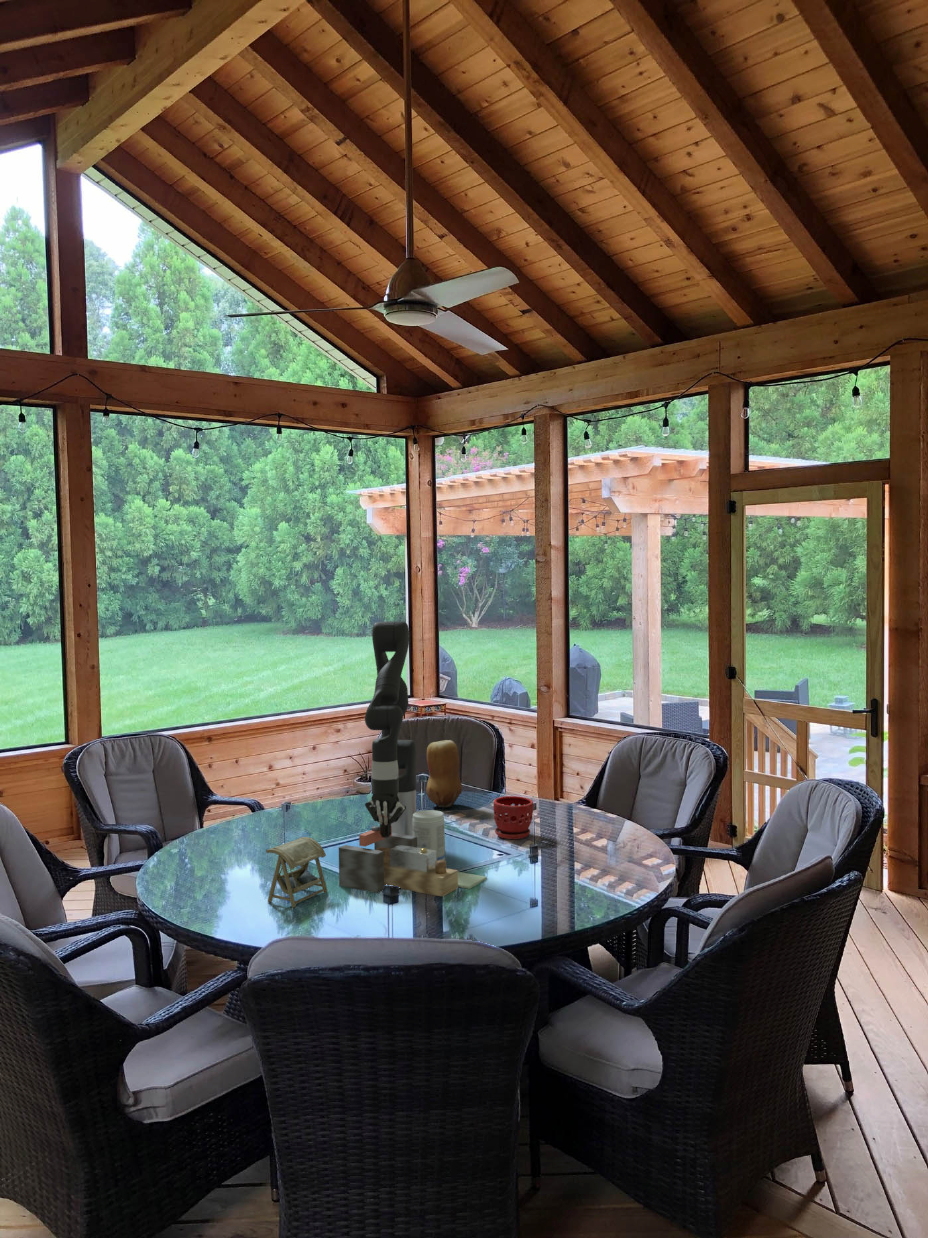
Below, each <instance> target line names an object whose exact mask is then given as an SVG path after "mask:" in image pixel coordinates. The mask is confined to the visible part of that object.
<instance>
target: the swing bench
mask: <svg viewBox="0 0 928 1238" xmlns="http://www.w3.org/2000/svg"><path fill="white" fill-rule="evenodd" d="M265 853H266V854H275V855H277V856H278V857H277V861H276V866H275V870H274V874H273V878H272V882H271V885H270V890H269V894H268V898H267V903H269V904H270V903H271V904H272V902H273V899H278V900H284V901H288V902H290V905H291V908H296V907H297V904H299V903H302V902H303V901H306V900H308V899H310V898H312V897H314V896H316V895H318V894H320V893H324V894H326V893H328V888H327V883H326V881H325V876H324V873H323V869H322V865H321V861H320V858H326V852H325V849H324V848H323V846H322V845H321V844H320V843H319V842H318V841H317V840H315V839H313V838H311V837H308V836H301V837H298V838H297V839H295V840H291V841H289V842H285V843H283V844H281V845H278V846H274V847H272V848H268V849H265ZM312 861H315V865H316V868H317V872H318V875H319V877H317V876H315V875H314V874H312V873H311V872H310V871H308V868H309V865H310V862H312ZM287 867H289V870H290V872H288V868H287ZM297 867H300V868H298V869H296V868H297ZM294 869H296V870H294ZM293 870H294V871H293ZM281 873H283V874H282V875H281ZM277 883H278V885H279V887H280V889H281V891H282V892H283V893H284V894H285V895H288V897H287V896H282V895H277V894H275V890H276V886H277ZM314 886H317V887H321V889H319V890H317V891H315V892H312V893H309V894H308V895H306V896H304V897H302V898H298V899H297V900H295V896H294V895H295V894H297V893H299V892H302V891H305V890H308V889H310V888H312V887H314Z"/></svg>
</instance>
